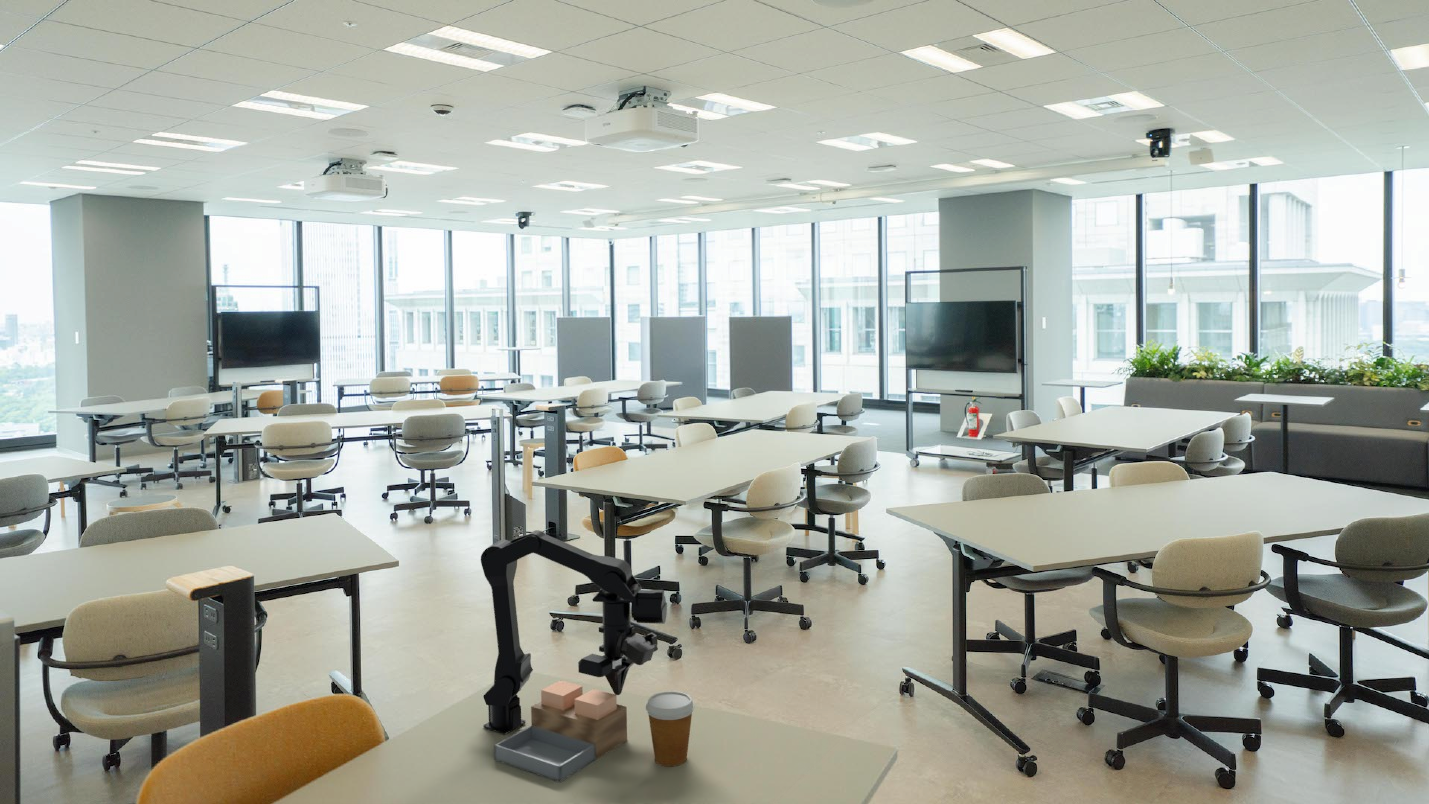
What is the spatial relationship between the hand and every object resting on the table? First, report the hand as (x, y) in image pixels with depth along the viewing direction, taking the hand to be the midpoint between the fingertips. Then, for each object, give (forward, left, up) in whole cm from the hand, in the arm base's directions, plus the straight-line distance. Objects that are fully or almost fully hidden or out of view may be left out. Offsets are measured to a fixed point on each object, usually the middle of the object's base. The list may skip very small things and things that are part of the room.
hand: (617, 694), depth 190 cm
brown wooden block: (-4, -7, -8) cm, 12 cm away
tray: (-4, -17, -8) cm, 20 cm away
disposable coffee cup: (+17, -4, -8) cm, 19 cm away
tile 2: (0, -7, -1) cm, 7 cm away
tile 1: (-9, -7, -1) cm, 12 cm away
